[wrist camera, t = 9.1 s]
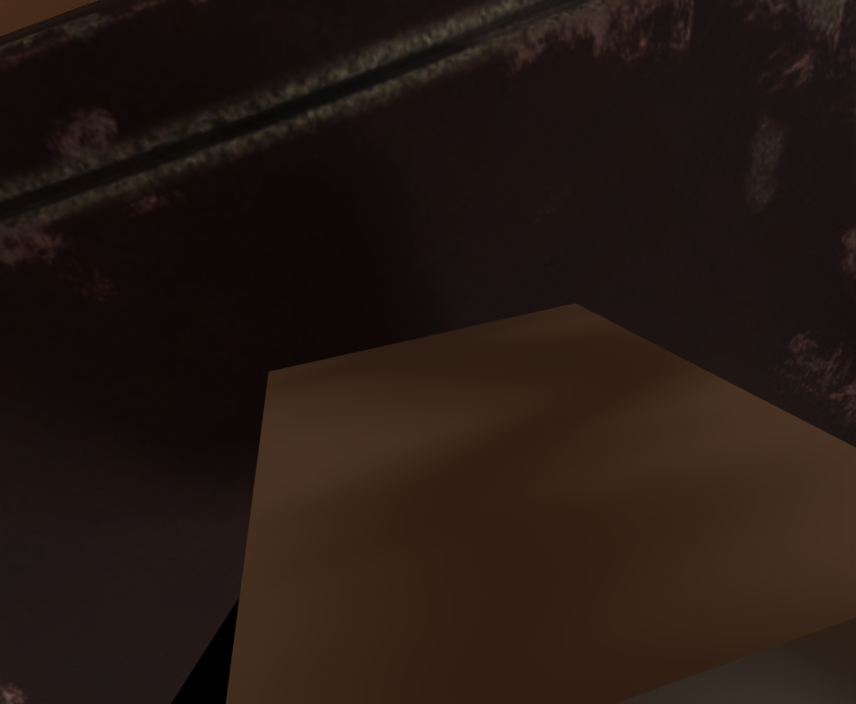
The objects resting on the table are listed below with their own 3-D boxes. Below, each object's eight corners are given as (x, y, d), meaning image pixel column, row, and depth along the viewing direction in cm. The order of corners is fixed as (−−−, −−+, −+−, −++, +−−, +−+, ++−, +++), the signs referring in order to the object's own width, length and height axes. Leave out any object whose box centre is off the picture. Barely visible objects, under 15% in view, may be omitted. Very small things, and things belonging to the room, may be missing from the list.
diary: (-323, 199, 11) (-762, 222, 7) (708, -161, 13) (925, -335, 9) (147, 726, 18) (96, 916, 14) (770, 433, 20) (909, 511, 16)
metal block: (575, 302, 9) (1049, 548, 3) (586, 541, 11) (900, 954, 5) (268, 372, 8) (205, 850, 2) (338, 616, 10) (393, 1203, 4)
